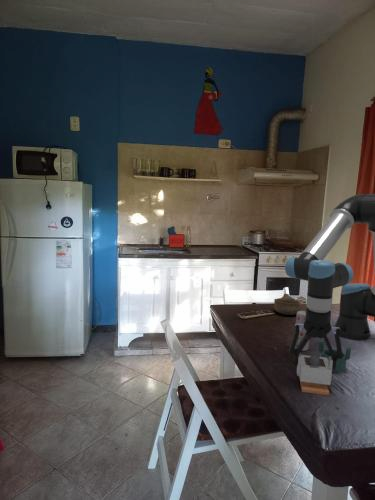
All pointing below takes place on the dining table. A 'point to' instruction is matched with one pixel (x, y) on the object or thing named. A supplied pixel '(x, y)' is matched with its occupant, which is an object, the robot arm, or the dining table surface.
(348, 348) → the bracket
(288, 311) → the bowl
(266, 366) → the dining table surface
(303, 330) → the beverage can
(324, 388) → the keeper
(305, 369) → the white square sleeve
